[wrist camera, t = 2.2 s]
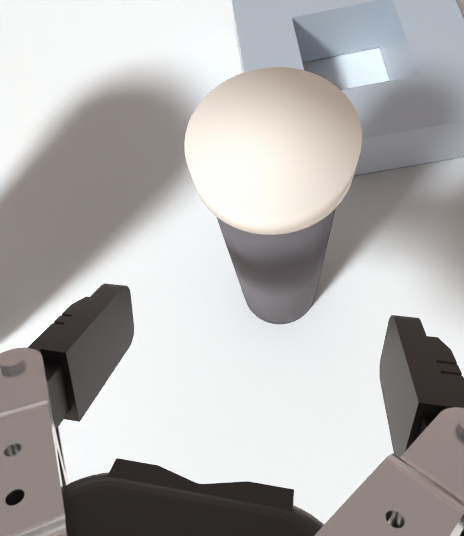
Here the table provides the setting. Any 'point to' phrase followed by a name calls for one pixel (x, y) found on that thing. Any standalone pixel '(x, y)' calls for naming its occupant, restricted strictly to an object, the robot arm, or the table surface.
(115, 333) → the robot arm
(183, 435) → the table surface
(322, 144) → the plug
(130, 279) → the table surface
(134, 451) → the table surface
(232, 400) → the table surface
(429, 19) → the socket
